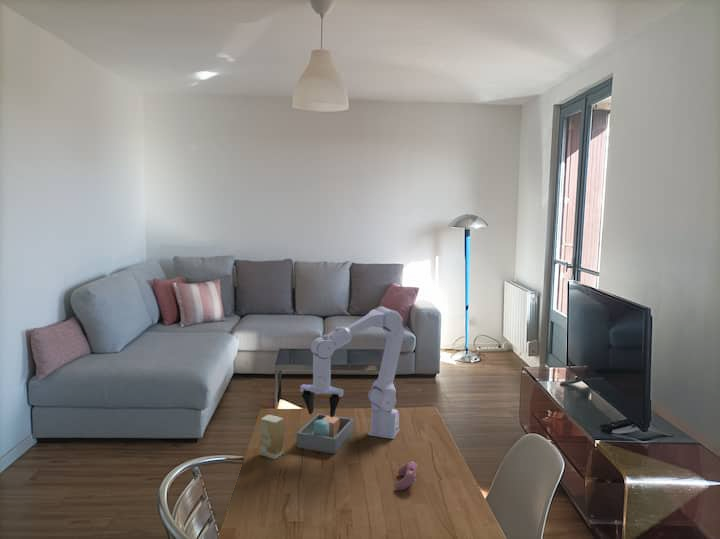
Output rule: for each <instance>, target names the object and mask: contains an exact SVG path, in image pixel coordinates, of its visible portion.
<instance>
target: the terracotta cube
mask: <svg viewBox="0 0 720 539" xmlns="http://www.w3.org/2000/svg"><path fill="white" fill-rule="evenodd" d="M337 417H338V416H337ZM337 417H330V416H326V417H324V418H323V419H324V420H328V421H329V437H335V436H336V435H337V434H338V433H339V430H340V418H337Z"/></svg>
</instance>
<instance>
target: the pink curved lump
mask: <svg viewBox="0 0 720 539" xmlns="http://www.w3.org/2000/svg"><path fill="white" fill-rule="evenodd" d="M418 465H419V464H418V463H417V462H415V461H412V460H410V461H408V462H407V463H406V464H405V465H403V466H401V467H400V468H399V469H398V471H397V475H398V476H400V477H402V478H401V479H400V480H399V481H396V483H395V485H394V488H395V490H397V491H402V490H406V489H407V488H409V487H410V486H412V484H413V483H416V482H417V478H416V476H417V474H416V472H417V469H418Z"/></svg>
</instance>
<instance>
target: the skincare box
mask: <svg viewBox="0 0 720 539" xmlns="http://www.w3.org/2000/svg"><path fill="white" fill-rule="evenodd" d="M284 428H285V418H284V417H280V416H279V415H278V416H276V415H272V414H267V415H264V416H263V417H261V418H260V456H263V457H267V458H270V459H274V460H277V459H278V458H280V457H281V456H282V454H283V455H284V438H285V437H284V436H285V435H284V432H285V430H284ZM279 456H280V457H279ZM276 458H277V459H276Z"/></svg>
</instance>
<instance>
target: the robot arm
mask: <svg viewBox="0 0 720 539" xmlns="http://www.w3.org/2000/svg"><path fill="white" fill-rule="evenodd" d="M403 321H404V318H403V317H402V315H401V314H400V313H399V312H398V311H397V310H392V309H390V308H387V307H385V306H383V305H381V306H377V307H376V308H375V309H371V310H370V311H369V312H368V313H367V314H366V315H364V316H362V317H361V318H359V319H358V320H357V321H355V322H354V323H352V324H350V325H348V326H347V327H346V326H344V325H343V326H339V325H338V326H336V327H335V329H334V330H333V331H331V332H329V333H327V334H323V335H322V336H323V337H320V336H319V337H317V338H314V339H313V341H312V342H311V344H310V346H309V348H310V352H311V353H312V384H304V383H303V384H301V385H300V386H299V387H300V391H299V392H301V396H302V399H303V400H304V403H305V404H306V408H307V411H308V415H312V414H313V413H314V398H315V397H314V396H315V394H318V395H320V394H322V395H331V396H330V397H328V399H329V400H328V401H329V406H330V410H329V413H330V414H329V415H330V417H333V416H336V415H335V414H336V409H337V406H338V405H339V402H340V399H341V397H343V396H344V390H345V389H343V388H339V387H334V386H331V377H332V376H331V366H332V365H331V364H332V363H331V361H332V360H331V357H332V356H333V354H334V352H335V351H336V350H339V349H340V348H342V347H343V346H345V345H346V344H348V343H350V342H351V341H352V338H353V336H355V335H358V334H360V333H362V332H363V331H366V330H367V329H371V328H372V327H375V328H382V329H383V331H384V332H385V334H386V336H387V338H386V339H385V340H386V341H385V345H384V350H383V354H382V359H381V363H380V369H379V372H378V375H377V376H378V377H377V379H376V380H375V381H372V382H373V383H372V386H371V388H370V390H369V391H368V394H367V396H368V400H369V401H370V403H371V404H370V405H371V410H370V411H371V415H370V416H371V418H370V419H371V421H370V422H371V425H370V429H369V431H368V432H367V434H366V435H367V436H373V437H378V438H385V439H392V440H394V439H395V438H396V436H397V435H398V434H399V431H400V427H399V426H400V412H399V410H397V409H395V407H396V404H397V399H396V393H397V390H396V388H395V385H394V381H395V376H396V372H397V367H398V362H399V358H400V355H401V354H400V353H401V350H402V346H403V340H404V336H405V331H404V326H403Z"/></svg>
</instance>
